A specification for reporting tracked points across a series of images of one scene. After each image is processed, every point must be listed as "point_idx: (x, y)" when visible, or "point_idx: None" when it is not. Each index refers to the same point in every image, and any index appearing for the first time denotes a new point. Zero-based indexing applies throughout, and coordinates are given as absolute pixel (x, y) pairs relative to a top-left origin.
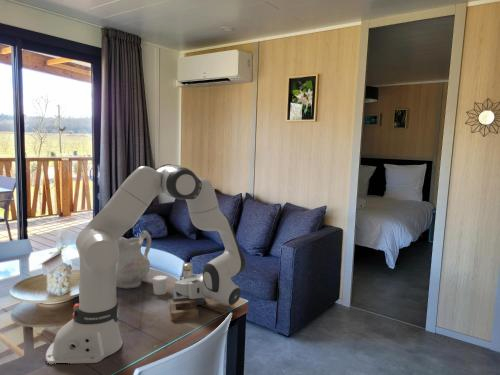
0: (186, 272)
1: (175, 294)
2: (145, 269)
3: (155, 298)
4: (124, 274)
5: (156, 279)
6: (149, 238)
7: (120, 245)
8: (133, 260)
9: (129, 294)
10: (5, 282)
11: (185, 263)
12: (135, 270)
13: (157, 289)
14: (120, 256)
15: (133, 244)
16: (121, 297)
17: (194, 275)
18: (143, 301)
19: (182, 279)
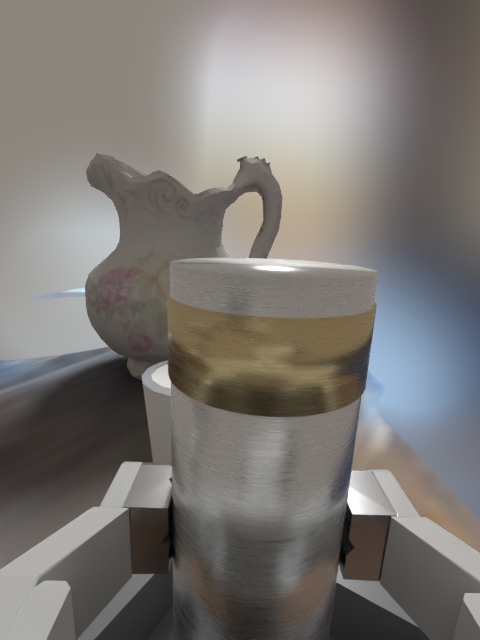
0: (183, 428)
1: (81, 636)
2: None
3: (97, 502)
4: (96, 313)
5: (150, 378)
6: (269, 195)
7: (107, 184)
8: (145, 260)
9: (88, 406)
10: (45, 295)
11: (263, 259)
12: (131, 305)
13: (151, 443)
14: (120, 240)
15: (145, 179)
16: (41, 408)
17: (397, 537)
18: (20, 489)
19: (59, 542)
